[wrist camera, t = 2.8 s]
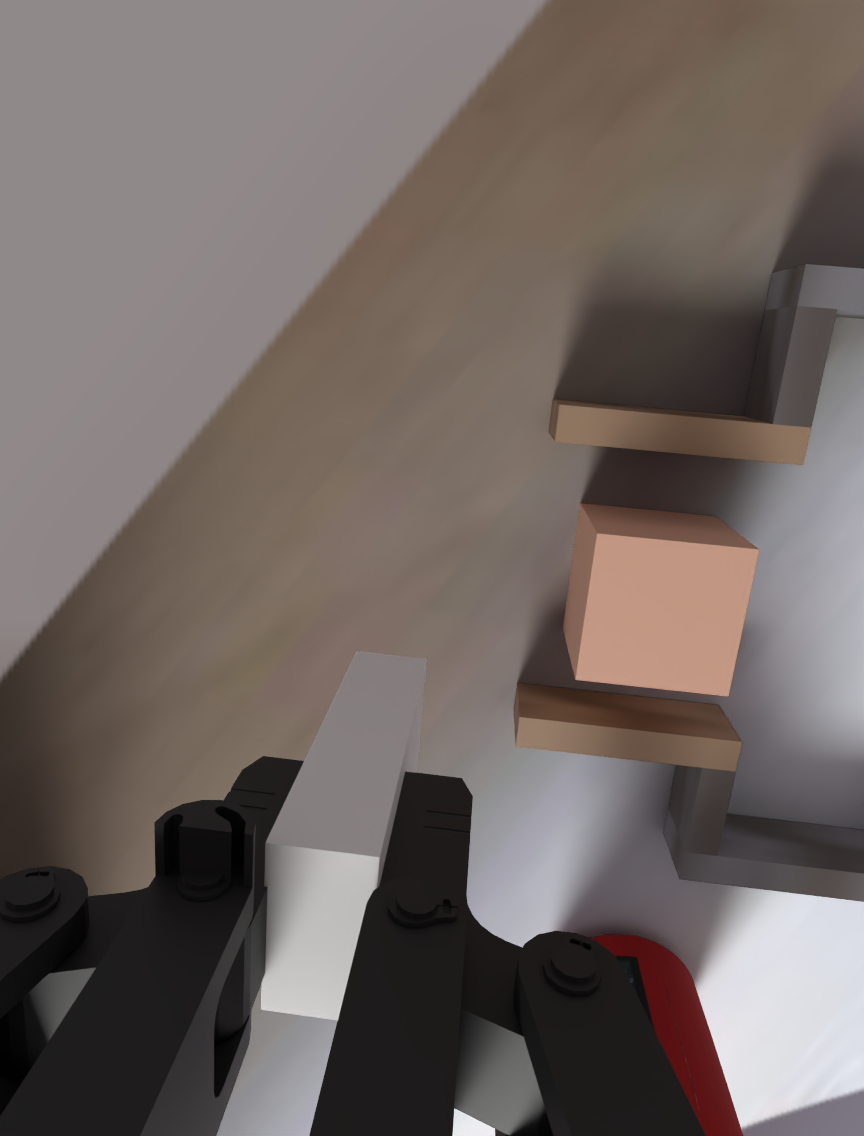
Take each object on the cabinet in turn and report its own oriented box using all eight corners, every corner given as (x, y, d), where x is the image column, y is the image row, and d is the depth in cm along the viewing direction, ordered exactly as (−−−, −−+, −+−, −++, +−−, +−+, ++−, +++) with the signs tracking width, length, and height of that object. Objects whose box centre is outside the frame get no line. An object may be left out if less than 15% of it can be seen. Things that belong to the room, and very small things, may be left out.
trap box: (500, 812, 33) (501, 857, 30) (570, 256, 27) (580, 245, 24) (1053, 878, 32) (1109, 931, 29) (1259, 313, 25) (1357, 308, 23)
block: (562, 627, 30) (575, 680, 26) (580, 502, 29) (596, 533, 24) (691, 640, 30) (728, 696, 25) (715, 515, 29) (759, 549, 24)
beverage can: (570, 900, 34) (609, 1187, 22) (717, 948, 34) (832, 1258, 22) (517, 1016, 36) (529, 1335, 24) (657, 1061, 36) (734, 1400, 24)
